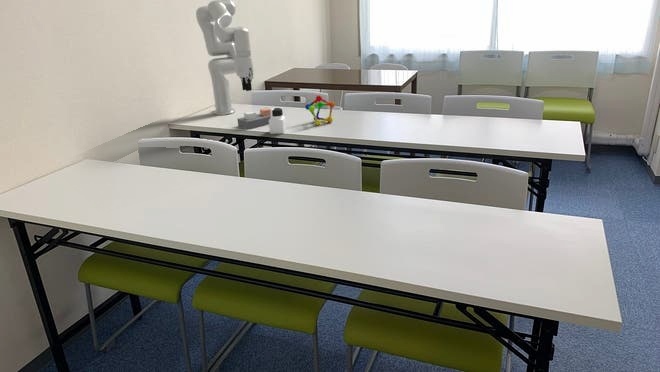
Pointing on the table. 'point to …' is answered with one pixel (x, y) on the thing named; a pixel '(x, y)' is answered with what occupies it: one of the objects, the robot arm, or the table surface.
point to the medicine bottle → (277, 121)
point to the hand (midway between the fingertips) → (247, 89)
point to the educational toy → (320, 104)
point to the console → (254, 121)
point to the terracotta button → (265, 112)
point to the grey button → (250, 115)
